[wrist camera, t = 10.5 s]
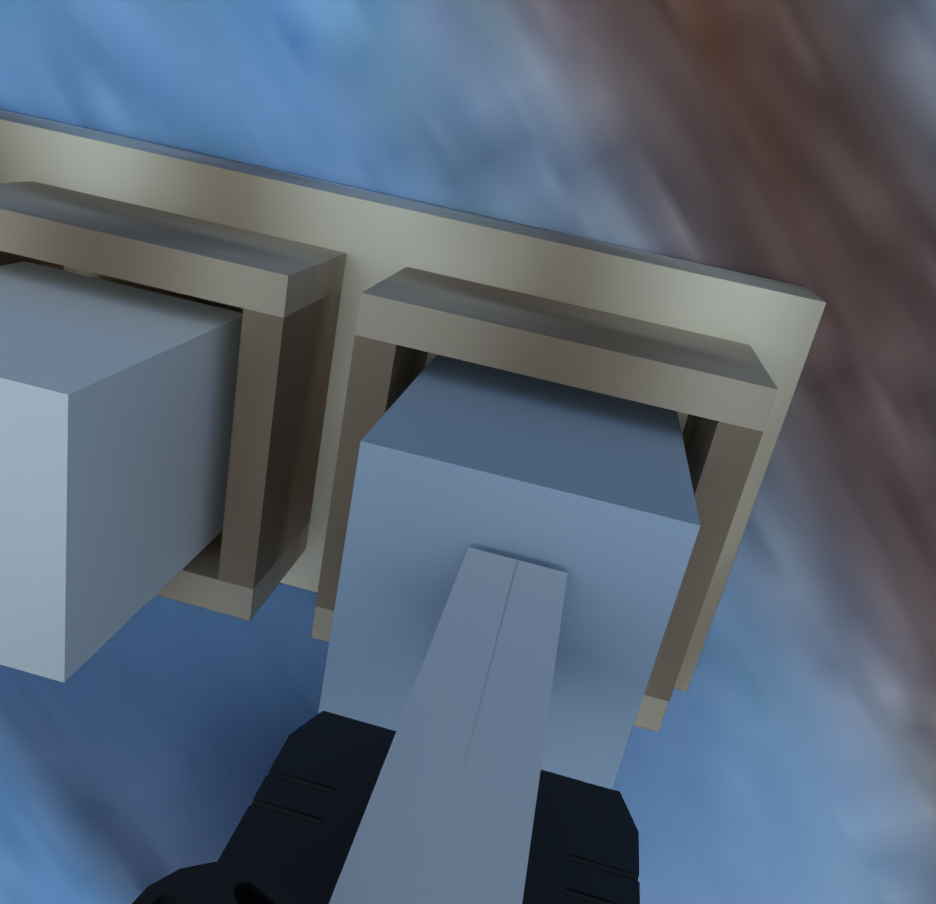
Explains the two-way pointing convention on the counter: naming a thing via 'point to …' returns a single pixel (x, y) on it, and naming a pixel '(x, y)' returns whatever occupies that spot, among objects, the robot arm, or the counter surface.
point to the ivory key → (103, 455)
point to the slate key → (515, 543)
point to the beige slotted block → (405, 342)
